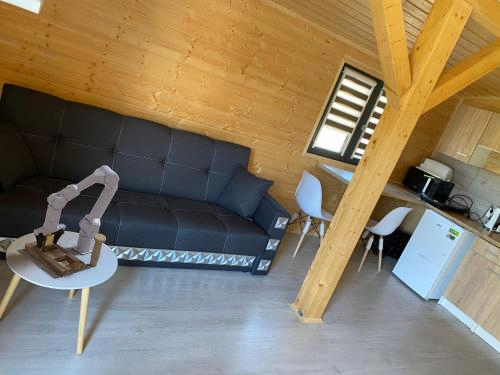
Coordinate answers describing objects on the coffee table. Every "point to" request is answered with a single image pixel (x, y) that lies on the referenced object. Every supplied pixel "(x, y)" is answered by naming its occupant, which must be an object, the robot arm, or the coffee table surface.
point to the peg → (47, 242)
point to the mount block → (56, 259)
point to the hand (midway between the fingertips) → (46, 245)
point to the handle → (97, 248)
